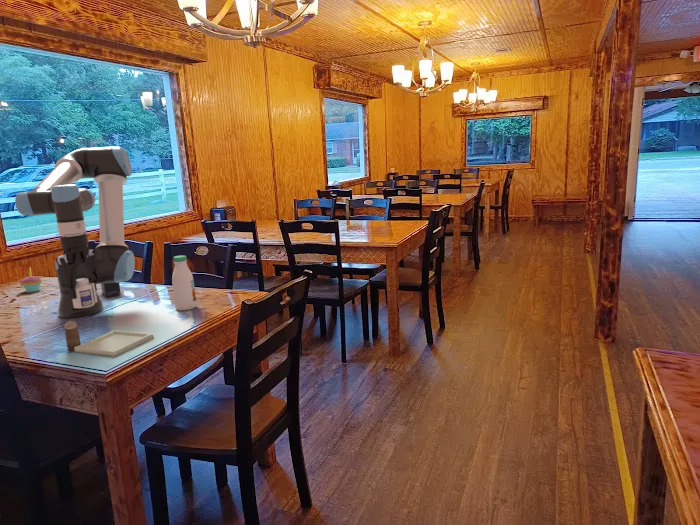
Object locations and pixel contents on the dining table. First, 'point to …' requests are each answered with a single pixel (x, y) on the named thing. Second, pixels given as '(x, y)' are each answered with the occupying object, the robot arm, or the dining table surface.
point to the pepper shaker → (72, 335)
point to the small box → (110, 289)
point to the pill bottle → (85, 292)
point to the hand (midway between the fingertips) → (85, 304)
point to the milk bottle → (183, 285)
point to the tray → (114, 343)
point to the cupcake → (31, 283)
